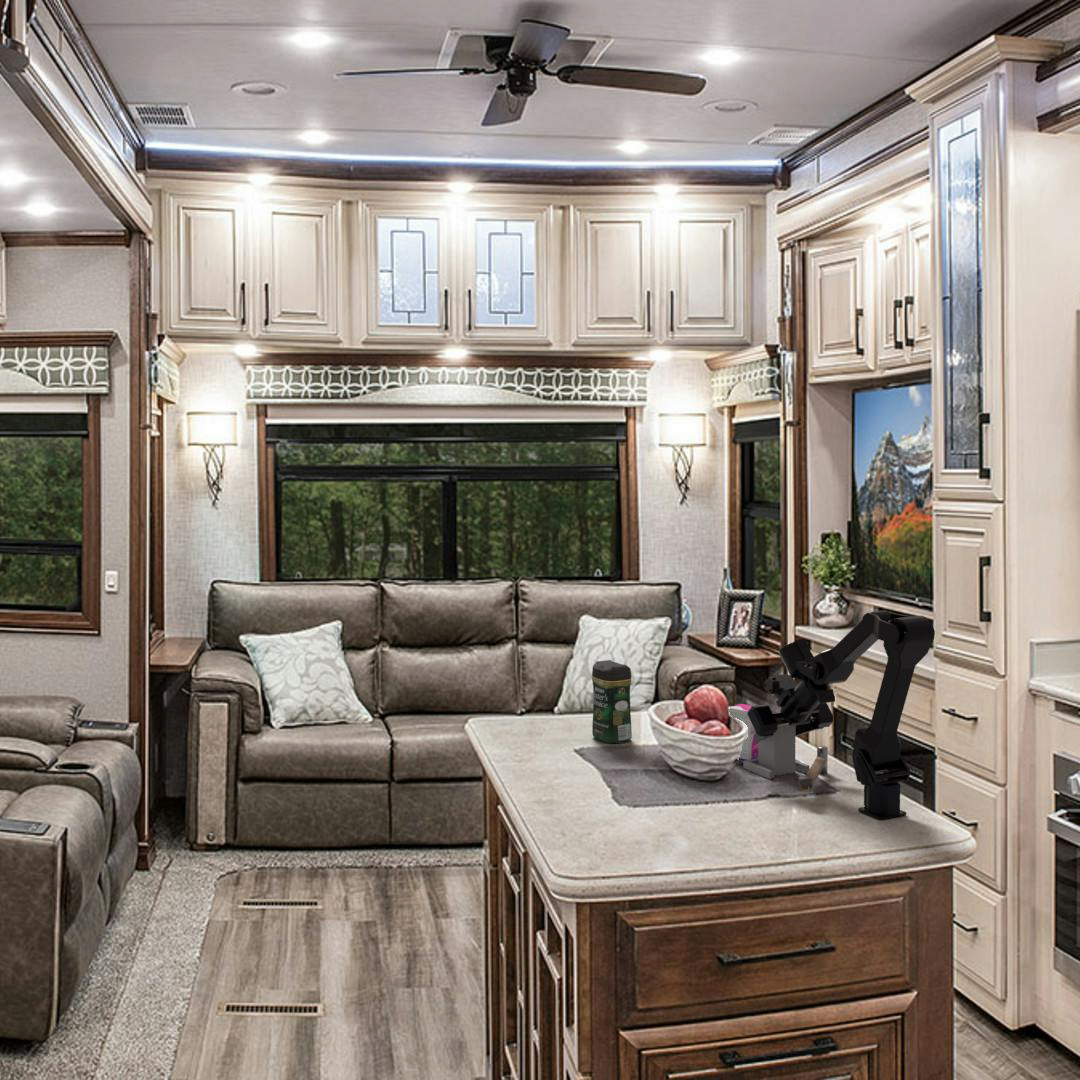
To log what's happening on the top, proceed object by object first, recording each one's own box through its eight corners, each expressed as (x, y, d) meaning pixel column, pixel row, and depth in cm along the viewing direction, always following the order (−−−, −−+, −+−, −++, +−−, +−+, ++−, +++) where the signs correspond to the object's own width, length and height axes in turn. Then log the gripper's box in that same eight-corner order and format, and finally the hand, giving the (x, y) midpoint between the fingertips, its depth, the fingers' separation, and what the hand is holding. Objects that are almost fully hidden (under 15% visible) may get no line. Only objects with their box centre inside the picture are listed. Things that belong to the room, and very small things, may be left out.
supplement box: (749, 762, 270) (750, 711, 269) (725, 758, 274) (726, 707, 273) (762, 757, 275) (762, 706, 274) (738, 753, 278) (738, 702, 277)
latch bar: (827, 763, 259) (827, 752, 259) (811, 792, 239) (811, 780, 238) (814, 762, 260) (814, 751, 260) (797, 791, 240) (797, 779, 239)
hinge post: (829, 773, 261) (829, 747, 260) (821, 774, 260) (821, 749, 259) (823, 770, 263) (823, 745, 262) (814, 772, 262) (814, 746, 261)
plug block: (795, 772, 262) (795, 719, 261) (773, 775, 260) (774, 722, 259) (779, 766, 267) (779, 714, 266) (758, 769, 265) (758, 717, 264)
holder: (809, 772, 261) (809, 765, 261) (769, 779, 257) (769, 771, 257) (781, 762, 270) (781, 754, 270) (742, 768, 266) (743, 760, 266)
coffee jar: (586, 737, 294) (586, 659, 292) (615, 732, 298) (615, 656, 296) (608, 746, 285) (607, 666, 284) (637, 741, 289) (636, 663, 288)
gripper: (825, 660, 261) (793, 701, 272) (752, 668, 253) (722, 710, 264) (849, 704, 255) (815, 744, 266) (775, 714, 247) (743, 755, 258)
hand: (773, 737), depth 264 cm, fingers open, 9 cm apart
